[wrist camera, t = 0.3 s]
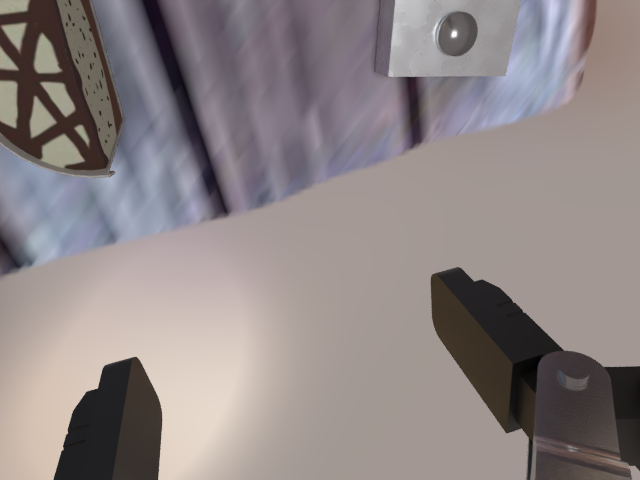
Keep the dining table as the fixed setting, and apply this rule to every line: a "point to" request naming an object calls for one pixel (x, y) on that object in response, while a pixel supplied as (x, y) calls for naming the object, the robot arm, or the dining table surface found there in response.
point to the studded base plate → (445, 37)
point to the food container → (57, 87)
